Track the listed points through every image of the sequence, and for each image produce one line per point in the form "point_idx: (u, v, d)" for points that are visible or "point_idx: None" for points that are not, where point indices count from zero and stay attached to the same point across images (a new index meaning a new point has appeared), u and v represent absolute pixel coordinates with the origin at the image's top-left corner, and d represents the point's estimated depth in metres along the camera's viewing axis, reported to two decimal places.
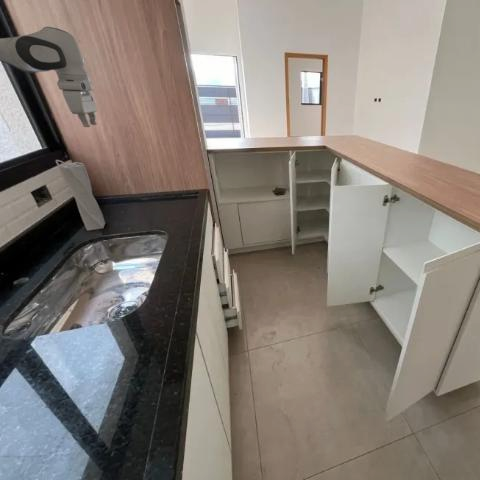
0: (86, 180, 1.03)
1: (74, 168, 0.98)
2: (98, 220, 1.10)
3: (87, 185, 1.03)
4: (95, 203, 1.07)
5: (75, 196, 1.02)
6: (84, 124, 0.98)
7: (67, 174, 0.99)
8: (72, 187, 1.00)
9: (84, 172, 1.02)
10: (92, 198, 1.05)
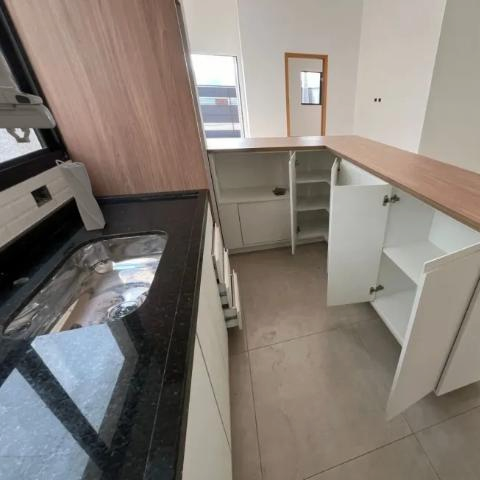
0: (86, 180, 1.03)
1: (74, 168, 0.98)
2: (98, 220, 1.10)
3: (87, 185, 1.03)
4: (95, 203, 1.07)
5: (75, 196, 1.02)
6: (28, 139, 0.91)
7: (67, 174, 0.99)
8: (72, 187, 1.00)
9: (84, 172, 1.02)
10: (92, 198, 1.05)
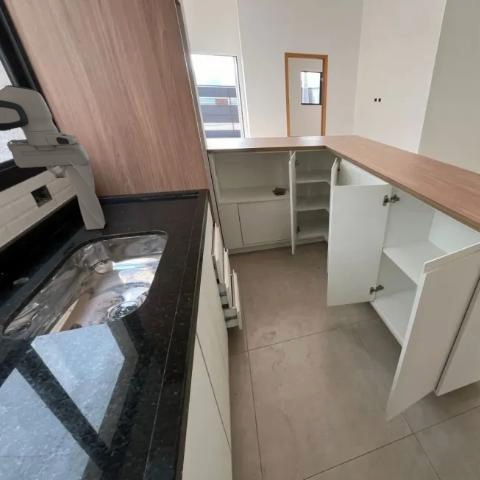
0: (90, 180, 1.04)
1: (80, 167, 0.99)
2: (99, 220, 1.10)
3: (91, 185, 1.04)
4: (97, 203, 1.07)
5: (78, 195, 1.02)
6: (65, 175, 0.99)
7: (72, 173, 0.99)
8: (76, 186, 1.01)
9: (89, 172, 1.03)
10: (95, 198, 1.06)
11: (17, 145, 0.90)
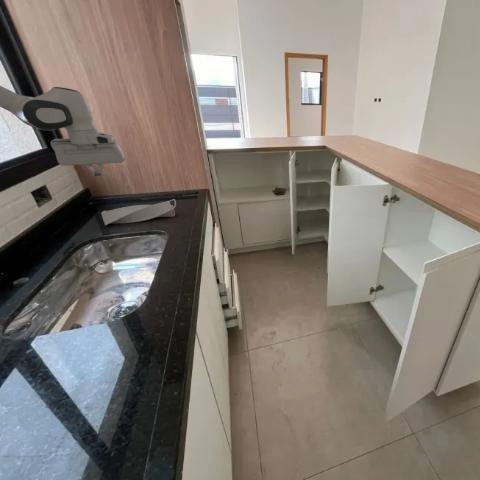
0: (158, 216, 1.21)
1: (170, 211, 1.21)
2: (114, 221, 1.13)
3: None
4: (135, 220, 1.16)
5: (142, 209, 1.15)
6: (102, 172, 1.04)
7: (163, 206, 1.19)
8: (151, 208, 1.17)
9: (166, 215, 1.22)
10: (140, 219, 1.17)
11: (60, 144, 0.95)
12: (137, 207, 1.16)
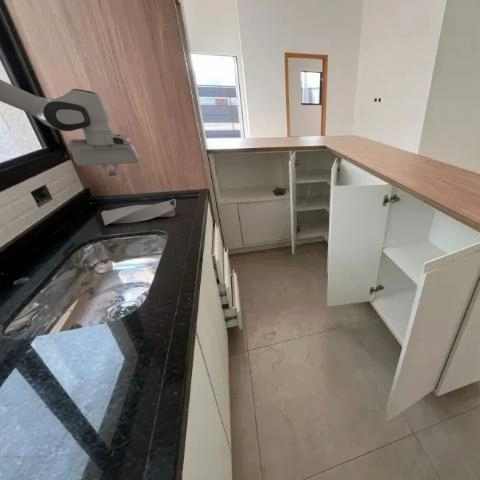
0: (158, 216, 1.21)
1: (170, 211, 1.21)
2: (114, 221, 1.13)
3: None
4: (135, 220, 1.16)
5: (142, 209, 1.15)
6: (116, 172, 1.06)
7: (163, 206, 1.19)
8: (151, 208, 1.17)
9: (166, 215, 1.22)
10: (140, 219, 1.17)
11: (77, 144, 0.96)
12: (137, 207, 1.16)
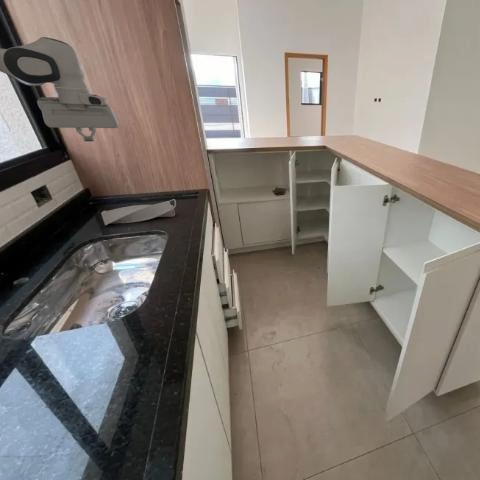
0: (158, 216, 1.21)
1: (170, 211, 1.21)
2: (114, 221, 1.13)
3: None
4: (135, 220, 1.16)
5: (142, 209, 1.15)
6: (93, 138, 0.96)
7: (163, 206, 1.19)
8: (151, 208, 1.17)
9: (166, 215, 1.22)
10: (140, 219, 1.17)
11: (48, 103, 0.87)
12: (137, 207, 1.16)
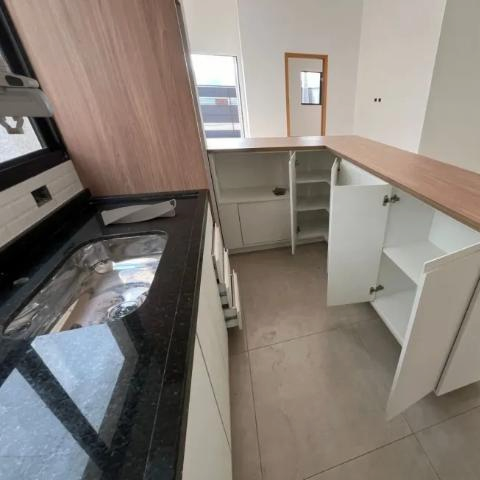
0: (158, 216, 1.21)
1: (170, 211, 1.21)
2: (114, 221, 1.13)
3: None
4: (135, 220, 1.16)
5: (142, 209, 1.15)
6: (21, 130, 0.76)
7: (163, 206, 1.19)
8: (151, 208, 1.17)
9: (166, 215, 1.22)
10: (140, 219, 1.17)
11: None
12: (137, 207, 1.16)
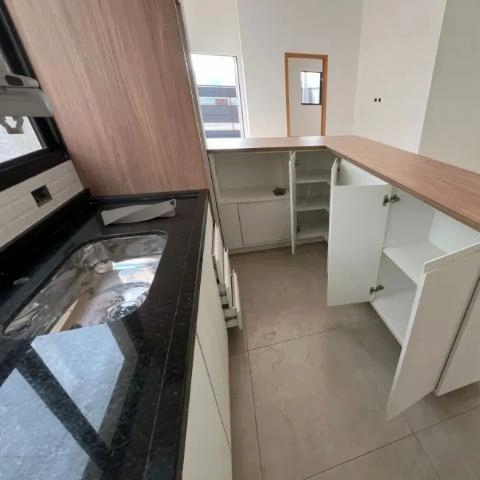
0: (158, 216, 1.21)
1: (170, 211, 1.21)
2: (114, 221, 1.13)
3: None
4: (135, 220, 1.16)
5: (142, 209, 1.15)
6: (21, 130, 0.76)
7: (163, 206, 1.19)
8: (151, 208, 1.17)
9: (166, 215, 1.22)
10: (140, 219, 1.17)
11: None
12: (137, 207, 1.16)
